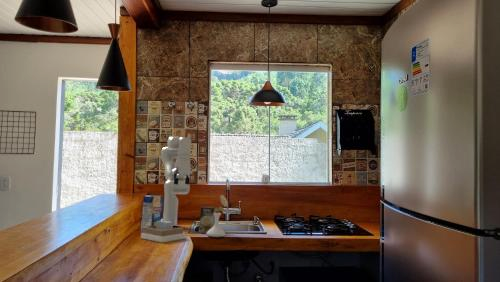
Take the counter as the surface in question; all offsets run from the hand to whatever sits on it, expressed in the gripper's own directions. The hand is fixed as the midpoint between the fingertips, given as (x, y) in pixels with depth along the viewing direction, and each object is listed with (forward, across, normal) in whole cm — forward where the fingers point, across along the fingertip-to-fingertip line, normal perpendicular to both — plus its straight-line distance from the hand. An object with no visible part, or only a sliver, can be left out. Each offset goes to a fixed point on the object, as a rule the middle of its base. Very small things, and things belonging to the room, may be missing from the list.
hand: (181, 184), depth 218 cm
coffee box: (+30, -14, +12) cm, 35 cm away
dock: (+29, +20, +10) cm, 37 cm away
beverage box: (+30, +14, -8) cm, 34 cm away
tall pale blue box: (+26, +20, +9) cm, 34 cm away
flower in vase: (+29, -8, +25) cm, 39 cm away
